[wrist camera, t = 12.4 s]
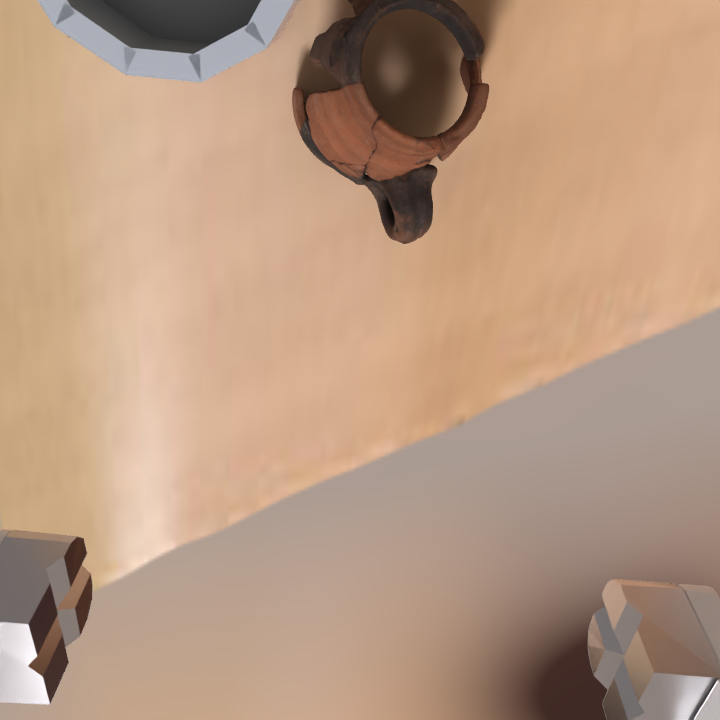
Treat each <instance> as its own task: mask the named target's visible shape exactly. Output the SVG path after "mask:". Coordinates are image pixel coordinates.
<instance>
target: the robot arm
mask: <svg viewBox="0 0 720 720" xmlns="http://www.w3.org/2000/svg"><path fill="white" fill-rule="evenodd" d="M86 555H87V551H86V547H85V543H84V538H81V537H76V536H66V535H57V534H48V533H38V532H29V531H20V530H7V529H0V702H7V703H27V704H49V705H50V704H51V701H52V699H53V697H54V695H55V692H56V690H57V688H58V685H59V683H60V681H61V679H62V677H63V674H64V672H65V670H66V667H67V665H68V663H69V662H68V657H67V653H66V648H65V647H66V646H68V645H69V644H70V643H72V642H73V641H74V640H75V639H77V638H78V637H79V636H80V635H81V633H82V630H83V628H84V626H85V623H86V621H87V619H88V614H89V610H90V606H91V601H92V579H91V573H89V572H88V571H87V570H86V569H85V568H84V567H83V566H82V563H83V561H84V559H85V557H86ZM602 597H603V600H604V603H605V607H603V608H602V609H600V610H599V611H597V612H596V613H594V615H593V618H592V621H591V623H590V626H589V632H588V633H589V634H588V651H589V659H590V663H591V667H592V670H593V674H594V676H595V677H596V678H597V679H598V680H599V681H600V682H601V683H602V684H603V685H604V686H605V688H607V690H608V692H607V694H606V696H605V698H604V701H603V703H602V705H603V708H604V711H605V715H606V718H607V720H720V598H719V596H718V594H717V593H716V592H715V591H714V590H713V589H712V588H711V587H709V586H699V585H686V584H673V583H664V582H650V581H635V580H620V579H612V580H611V581H609V582H608V583H607V584H606V587H605V588H604V591H603V593H602Z"/></svg>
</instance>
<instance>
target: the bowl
mask: <svg viewBox="0 0 720 720" xmlns="http://www.w3.org/2000/svg"><path fill="white" fill-rule="evenodd" d="M38 2H39V3H40V5H41V6H42V8H43V10H44V11H45V13H46V14H47V16H48V18H49V19H50V21H51V22H52V24H53V25H54V26H55V27H56V28H57V29H59V30H60V31H61V32H63V33H64V34H66V35H67V36H69V37H70V38H72V39H73V40H75V41H76V42H78V43H79V44H81V45H82V46H84V47H85V48H87V49H88V50H90V51H91V52H92V53H94V54H95V55H97V56H98V57H100V58H101V59H103V60H104V61H106V62H107V63H109V64H110V65H112V66H113V67H115V68H116V69H118V70H119V71H121V72H122V73H124V74H125V75H131V76H141V77H151V78H161V79H172V80H182V81H192V82H203V81H205V80H207V79H209V78H211V77H213V76H214V75H216V74H218V73H220V72H222V71H224V70H226V69H228V68H230V67H232V66H233V65H235V64H237V63H239V62H241V61H243V60H245V59H247V58H249V57H251V56H253V55H254V54H256V53H258V52H260V51H262V50H264V49H266V48H267V47H268V46H270V45H271V44H272V43H273V42H274V41H275V40H277V39H278V38H279V36H280V35H281V33H282V31H283V29H284V28H285V26H286V24H287V22H288V21H289V19H290V17H291V15H292V14H293V12H294V10H295V9H296V7H297V5H298V3H299V2H300V0H38Z"/></svg>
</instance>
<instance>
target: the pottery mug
mask: <svg viewBox="0 0 720 720" xmlns="http://www.w3.org/2000/svg"><path fill="white" fill-rule="evenodd" d="M349 2H350V3H352V4H353V8H354V10H355V14H356V16H355V17H353V18H344V19H341V20H340V21H337V22H335V23H334V24H332V25H331V26H330V27H329V29H328V30H327V31H326V32H325V33H322V34H320V35H318V36H317V37H316V38H315V40H314V43H313V46H312V49H311V52H310V60H311V62H314V63H321V64H322V65H323V67H324V68H325V69H326V70H327V71H329V72H330V73H331V74H332V75H333V77H334V78H335V79H336V80H337V81H338V83H339V84H340V86H341V87H340V88H337V89H331V90H328V91H323V92H313V93H310V95H309V97H308V99H307V102H306V111H307V115H308V119H306V114H305V107H304V93H303V89H302V88H299V87H298V88H295V89H294V90H293V97H292V103H293V112H294V118H295V121H296V125H297V127H298V130H299V133H300V135H301V137H302V139H303V141H304V143H305V144H306V146H307V147H308V148H309V149H310V151H311V152H312V153H313V154H314V155H315V156H316V157H317V158H318V159H319V160H320V161H322V162H323V163H325V164H326V165H328V166H329V167H331V168H333V169H335V170H336V171H337V172H338V173H340V174H341V175H343V176H345V177H346V178H348V179H350V180H351V181H353V182H354V183H356V184H358V185H366V186H367V187H368V189H369V190H370V191H371V192H372V194H373V195H374V197H375V199H376V201H377V203H378V208H379V212H380V216H381V220H382V223H383V226H384V228H385V231H386V233H387V235H388V236H389V237H390V238H391V239H392V240H396V241H398V242H401V243H403V244H407V243H410V242H413V241H415V240H416V239H417V238H420V237H422V236H423V235H424V234H425V233H426V232H427V231H428V230H429V228H430V226H431V223H432V215H433V201H432V195H431V187H432V183H433V181H434V179H435V177H436V175H437V168H436V167H435V166H433V165H430V164H428V163H430V162H431V160H432V159H433V158H434V157H436V156H438V158H439V159H440V160H441V161H443V160H445V159H446V158H447V157H449V155H450V154H451V153H452V152H453V151H454V150H455V149H456V148H457V146H458V145H459V144H460V143H461V142H462V140H464V139H465V138H466V137H467V136H468V135H469V134H470V133H471V132H472V131H473V130H474V129H475V127H476V125H477V124H478V122H479V120H480V119H481V116H482V114H483V112H484V110H485V108H486V103H487V99H488V94H489V85H488V84H485V83H482V79H481V69H480V65H479V61H478V58H479V57H480V56H481V55H482V52H483V50H484V47H485V46H484V41H483V39H482V37H481V35H480V33H479V31H478V29H477V28H476V26H475V24H474V23H473V22H472V21H471V20H470V18H469V17H468V15H467V14H466V13H465V11H464V10H462V9H461V7H460V6H458V5H457V4H456V3H455V2H453V1H452V0H349ZM400 9H413V10H419V11H422V12H425V13H427V14H429V15H430V16H432V17H434V18H436V19H437V20H439V21H440V22H441V23H443V24H444V25H445V26H446V27H447V28H448V29H449V30H450V31H451V33H452V34H453V35H454V37H455V38H456V40H457V41H458V43H459V45H460V47H461V49H462V51H463V53H464V56H465V57H464V59H463V62H462V64H461V67H460V73H461V77H462V80H463V84H464V86H465V89H466V91H467V93H468V97H467V101H466V105H465V107H464V110H463V112H462V114H461V116H460V117H459V119H458V120H457V121H456V122H455V124H454V125H453V126H451V127H450V128H449V129H448V130H446V131H445V132H442V133H440V134H438V135H437V136H433V137H415V136H411V135H408V134H405V133H403V132H401V131H399V130H397V129H396V128H394V127H392V126H391V125H390V124H389V123H387V122H386V121H385V120H384V119H383V118H382V117H381V116H380V115H379V113H378V112H377V110H376V109H375V107H374V106H373V104H372V102H371V101H370V99H369V96H368V94H367V91H366V88H365V85H364V83H363V81H362V77H361V56H362V50H363V46H364V43H365V40H366V38H367V35H368V33H369V31H370V30H371V28H372V27H373V25H374V24H375V23H376V22H377V20H378V19H379V18H381V17H382V16H384V15H385V14H387V13H390V12H392V11H395V10H400ZM365 173H367V174H368V175H366V174H365Z"/></svg>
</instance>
